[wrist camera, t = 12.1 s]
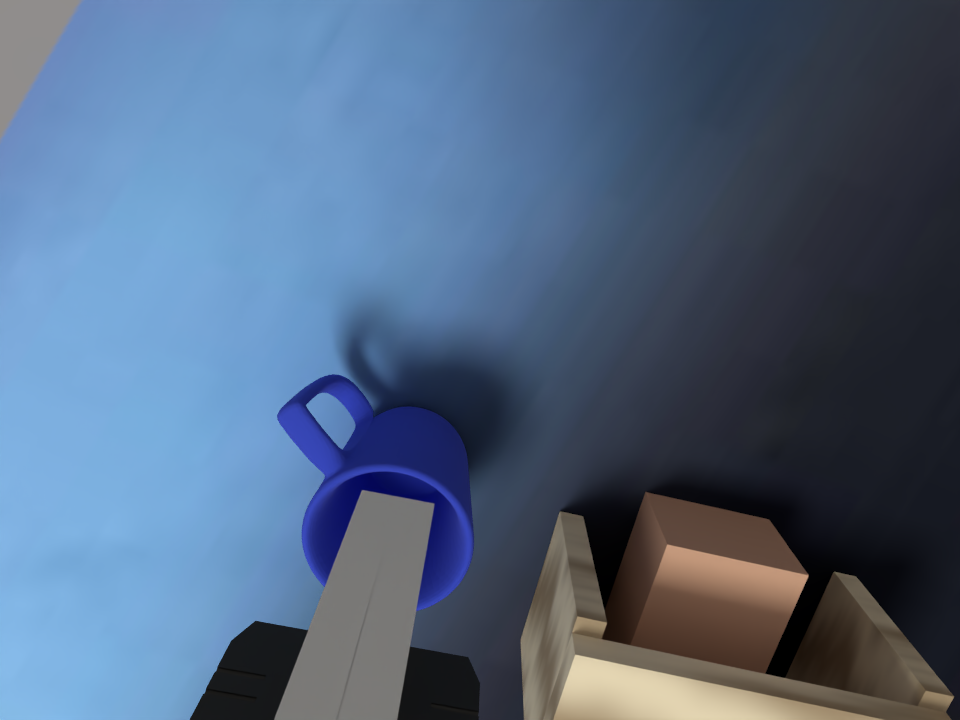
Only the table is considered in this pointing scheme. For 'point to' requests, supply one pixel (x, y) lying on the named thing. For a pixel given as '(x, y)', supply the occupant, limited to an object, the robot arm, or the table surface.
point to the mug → (385, 480)
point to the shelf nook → (709, 686)
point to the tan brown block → (704, 585)
